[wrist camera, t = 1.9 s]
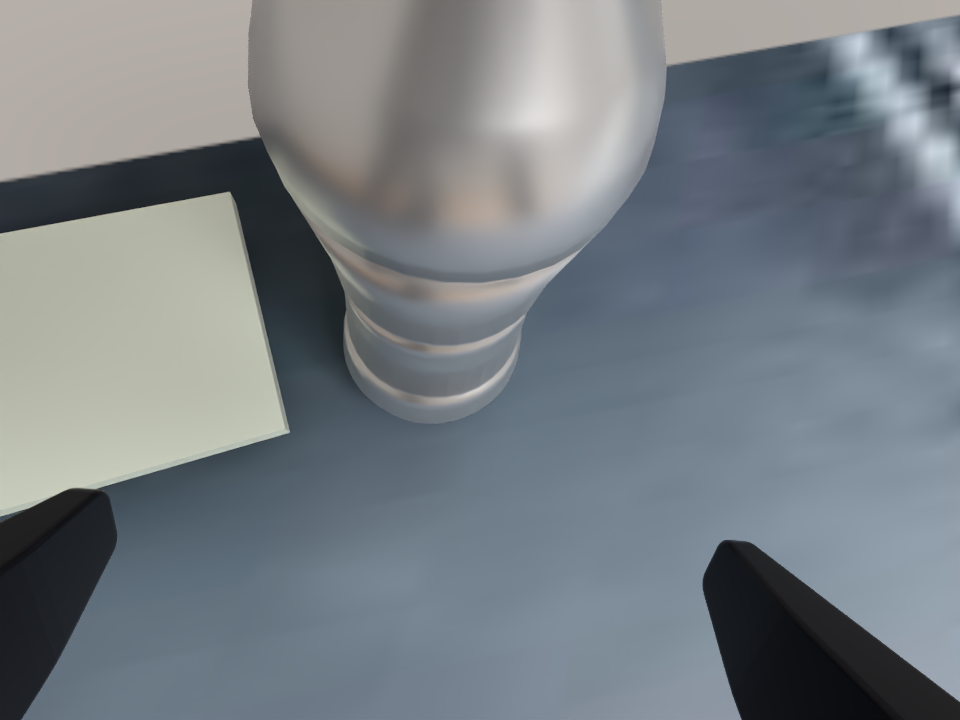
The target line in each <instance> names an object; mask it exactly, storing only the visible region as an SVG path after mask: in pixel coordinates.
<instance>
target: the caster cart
mask: <svg viewBox="0 0 960 720" xmlns="http://www.w3.org/2000/svg"><path fill="white" fill-rule="evenodd" d="M287 433H290V430H289V426H288V422H287V418H286V413H285V409H284V405H283V401H282V397H281V392H280V388H279V384H278V380H277V375H276V371H275V367H274V363H273V358H272V354H271V350H270V346H269V341H268V337H267V333H266V329H265V324H264V320H263V316H262V312H261V307H260V303H259V299H258V295H257V291H256V286H255V282H254V278H253V274H252V269H251V265H250V261H249V257H248V252H247V248H246V244H245V240H244V235H243V231H242V227H241V223H240V218H239V214H238V210H237V206H236V203H235V201H234V199H233V197H232V195H231V193H230V192H225V193H220V194H215V195H209V196H204V197H198V198H193V199H187V200H182V201H176V202H171V203H165V204H160V205H154V206H149V207H143V208H138V209H133V210H127V211H122V212H116V213H111V214H105V215H100V216H94V217H89V218H83V219H78V220H72V221H67V222H62V223H56V224H51V225H45V226H40V227H34V228H29V229H23V230H18V231H12V232H7V233H1V234H0V516H3V515H7V514H10V513H14V512H17V511H21V510H24V509H28V508H30V507H32V506H34V505H36V504H38V503H40V502H42V501H44V500H46V499H48V498H50V497H52V496H55V495H57V494H59V493H61V492H63V491H65V490H67V489H70V488H88V489H97V488H100V487H104V486H107V485H111V484H114V483H118V482H121V481H124V480H128V479H131V478H135V477H138V476H142V475H145V474H149V473H152V472H156V471H159V470H162V469H166V468H169V467H173V466H176V465H180V464H183V463H187V462H190V461H194V460H197V459H200V458H204V457H207V456H211V455H214V454H218V453H221V452H225V451H228V450H232V449H235V448H238V447H242V446H245V445H249V444H252V443H256V442H259V441H263V440H266V439H270V438H273V437H276V436H280V435H283V434H287Z"/></svg>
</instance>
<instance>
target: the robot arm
mask: <svg viewBox="0 0 960 720" xmlns="http://www.w3.org/2000/svg"><path fill="white" fill-rule="evenodd" d="M116 542H117V530H116V525H115V521H114V516H113V512H112V507H111V503H110V499H109V496H108V494H107V493H106V492H105V491H103V490H100V489H88V488H70V489H67V490H65V491H63V492H61V493H59V494H57V495H55V496H52V497H50V498H48V499H46V500H44V501H42V502H40V503H38V504H36V505H34V506H32V507H30V508H28V509H26V510H24V511H22V512H20V513H18V514H16V515H14V516H12V517H10V518H8V519H6V520H4V521H2V522H0V720H21V719H22V718H23V716H24V714H25V713H26V711H27V710H28V708H29V707H30V705H31V703H32V702H33V700H34V699H35V697H36V695H37V694H38V692H39V691H40V689H41V688H42V686H43V684H44V683H45V681H46V679H47V678H48V676H49V675H50V673H51V671H52V670H53V668H54V666H55V665H56V663H57V661H58V659H59V657H60V656H61V654H62V652H63V650H64V648H65V646H66V644H67V643H68V641H69V639H70V637H71V635H72V633H73V631H74V629H75V627H76V625H77V623H78V621H79V619H80V617H81V615H82V613H83V611H84V609H85V607H86V605H87V603H88V601H89V599H90V597H91V595H92V593H93V591H94V589H95V587H96V585H97V583H98V581H99V579H100V577H101V575H102V573H103V571H104V569H105V567H106V565H107V563H108V561H109V559H110V557H111V555H112V553H113V551H114V549H115V546H116ZM703 592H704V596H705V600H706V603H707V607H708V610H709V614H710V618H711V621H712V625H713V628H714V632H715V636H716V639H717V643H718V646H719V650H720V653H721V657H722V661H723V664H724V668H725V671H726V675H727V678H728V682H729V685H730V688H731V691H732V694H733V697H734V700H735V703H736V706H737V709H738V711H739V714H740V717H741V719H742V720H960V702H959V701H958V700H956V699H955V698H954V697H953V696H951V695H950V694H949V693H947V692H946V691H945V690H943V689H942V688H941V687H939V686H938V685H937V684H936V683H934V682H933V681H932V680H930V679H929V678H928V677H926V676H925V675H924V674H922V673H921V672H920V671H919V670H917V669H916V668H915V667H913V666H912V665H911V664H909V663H908V662H907V661H905V660H904V659H903V658H902V657H900V656H899V655H898V654H896V653H895V652H894V651H892V650H891V649H890V648H888V647H887V646H886V645H884V644H883V643H882V642H881V641H879V640H878V639H877V638H875V637H874V636H873V635H871V634H870V633H869V632H867V631H866V630H865V629H864V628H862V627H861V626H860V625H858V624H857V623H856V622H854V621H853V620H852V619H850V618H849V617H848V616H847V615H845V614H844V613H843V612H841V611H840V610H839V609H837V608H836V607H835V606H833V605H832V604H831V603H830V602H828V601H827V600H826V599H824V598H823V597H822V596H820V595H819V594H818V593H816V592H815V591H814V590H813V589H811V588H810V587H809V586H807V585H806V584H805V583H803V582H802V581H801V580H799V579H798V578H797V577H796V576H794V575H793V574H792V573H790V572H789V571H788V570H786V569H785V568H784V567H782V566H781V565H780V564H778V563H777V562H776V561H775V560H773V559H772V558H771V557H769V556H768V555H767V554H765V553H764V552H763V551H761V550H760V549H759V548H758V547H756V546H755V545H753V544H752V543H750V542H746V541H736V540H724V541H722V542H721V543H720V544H719V545H718V547H717V549H716V551H715V553H714V555H713V557H712V559H711V561H710V563H709V565H708V567H707V569H706V571H705V574H704V577H703Z"/></svg>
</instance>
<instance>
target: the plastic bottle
mask: <svg viewBox="0 0 960 720" xmlns="http://www.w3.org/2000/svg"><path fill="white" fill-rule="evenodd" d="M664 43H665V42H664V29H663V17H662V5H661V0H253V2H252V10H251V18H250V26H249V55H248V57H249V58H248V59H249V60H248V62H249V63H248V65H249V66H248V69H249V70H248V87H249V93H250V100H251V107H252V114H253V119H254V121H255V124H256V126H257V128H258V131H259V133H260V136H261V138H262V140H263V143H264V145H265V147H266V150H267V152H268V154H269V156H270V158H271V160H272V162H273V164H274V166H275V167H276V170H277V172H278V174H279V176H280V178H281V180H282V182H283V184H284V187H285V188H286V189H287V191H288V192H289V194H290V195H291V196H292V198H293V200H294V202H295V203H296V205H297V206H298V208H299V209H300V211H301V213H302V214H303V216H304V217H305V219H306V220H307V222H308V224H309V225H310V227H311V228H312V230H313V231H314V233H315V234H316V236H317V238H318V239H319V241H320V242H321V244H322V245H323V247H324V249H325V250H326V252H327V253H328V255H329V256H330V258H331V260H332V262H333V264H334V267H335V269H336V272H337V274H338V276H339V279H340V282H341V284H342V286H343V289H344V291H345V301H346V314H345V318H344V332H343V349H344V355H345V361H346V365H347V367H348V369H349V372H350V374H351V376H352V379H353V380H354V382H355V383H356V384H357V386H358V387H359V389H360V390H361V392H362V393H363V394H364V395H365V396H366V397H368V398H369V399H370V400H371V401H372V402H373V403H374V404H375V405H377V406H378V407H380V408H382V409H383V410H385V411H387V412H388V413H390V414H392V415H394V416H396V417H399V418H401V419H404V420H407V421H410V422H416V423H422V424H441V423H446V422H450V421H455V420H458V419H461V418H464V417H466V416H468V415H471V414H473V413H476V412H477V411H479V410H480V409H482V408H483V407H485V406H486V405H488V404H489V403H491V402H492V401H493V400H494V399H495V398H496V397H497V396H498V395H499V394H500V393H501V392H502V391H503V389H504V387H505V386H506V384H507V383H508V381H509V380H510V378H511V376H512V373H513V371H514V368H515V366H516V363H517V358H518V354H519V348H520V342H521V329H522V326H523V323H524V320H525V316H526V313H527V312H528V310H529V309H530V308H531V306H532V305H533V303H534V302H535V300H536V299H537V298H538V296H539V295H540V293H541V292H542V290H543V289H544V287H545V286H546V285H547V284H548V283H549V282H550V281H551V280H552V279H553V278H554V277H555V276H556V275H557V274H558V273H559V272H560V271H561V270H562V269H563V268H564V267H565V266H566V265H567V264H568V263H569V262H570V261H571V260H572V259H573V258H574V257H575V256H576V255H577V254H578V253H579V252H580V251H581V250H582V249H583V248H584V247H585V246H586V245H587V244H588V243H589V242H590V241H591V240H592V239H593V238H594V237H595V236H596V235H597V234H598V233H599V232H600V231H601V230H602V229H603V228H604V227H605V226H606V225H607V224H608V222H609V221H610V220H611V218H612V217H613V216H614V214H615V213H616V212H617V211H618V209H619V208H620V207H621V206H622V205H623V203H624V202H625V201H626V200H627V199H628V197H629V196H630V194H631V193H632V191H633V189H634V188H635V186H636V185H637V183H638V182H639V180H640V179H641V177H642V176H643V174H644V173H645V170H646V167H647V164H648V161H649V158H650V155H651V152H652V149H653V146H654V143H655V138H656V134H657V129H658V125H659V120H660V116H661V112H662V107H663V103H664V98H665V85H666V69H667V68H666V55H665V44H664Z"/></svg>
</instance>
